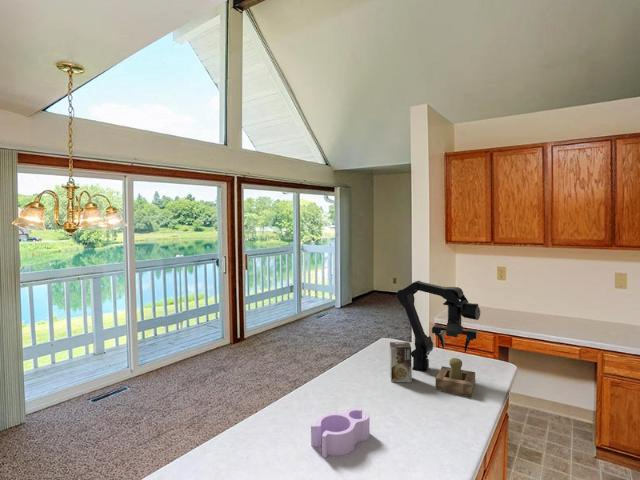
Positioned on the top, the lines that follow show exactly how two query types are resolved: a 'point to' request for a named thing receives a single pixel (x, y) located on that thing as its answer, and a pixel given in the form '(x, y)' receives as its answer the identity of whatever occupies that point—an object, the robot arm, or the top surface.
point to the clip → (340, 431)
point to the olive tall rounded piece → (455, 368)
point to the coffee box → (400, 362)
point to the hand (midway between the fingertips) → (454, 350)
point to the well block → (455, 382)
